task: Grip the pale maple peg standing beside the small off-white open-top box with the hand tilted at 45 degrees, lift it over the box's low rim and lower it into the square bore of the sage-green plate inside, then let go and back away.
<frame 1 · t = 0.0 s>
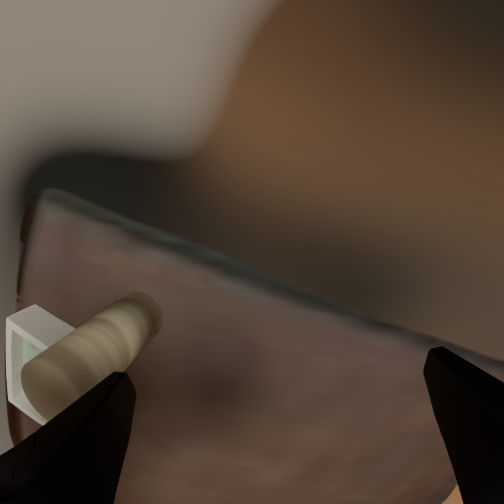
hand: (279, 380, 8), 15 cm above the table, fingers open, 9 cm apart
bore box: (69, 371, 26), on the table
peg: (139, 315, 25), on the table
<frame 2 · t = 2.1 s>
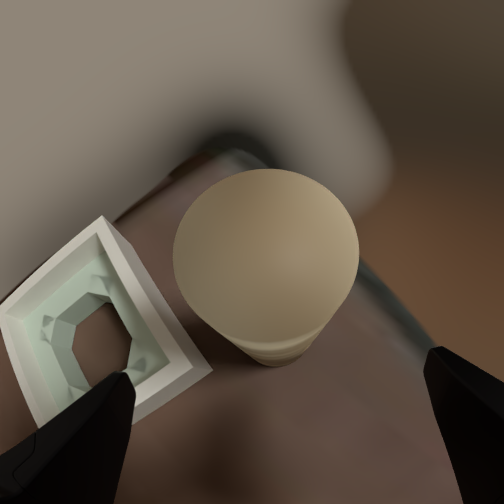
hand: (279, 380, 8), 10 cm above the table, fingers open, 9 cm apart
bore box: (107, 347, 19), on the table
peg: (276, 334, 19), on the table
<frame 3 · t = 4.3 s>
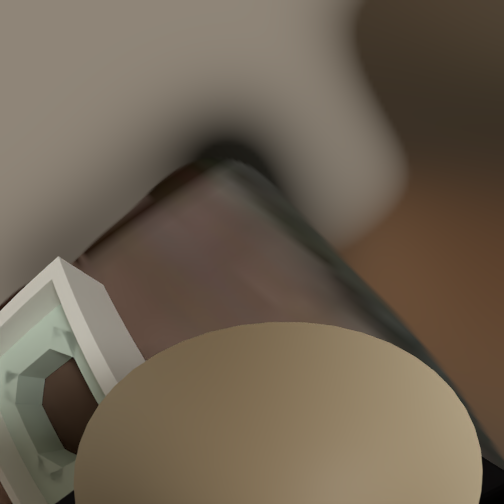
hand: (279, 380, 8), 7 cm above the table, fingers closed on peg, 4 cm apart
bore box: (80, 408, 14), on the table
peg: (282, 406, 14), on the table, touching gripper
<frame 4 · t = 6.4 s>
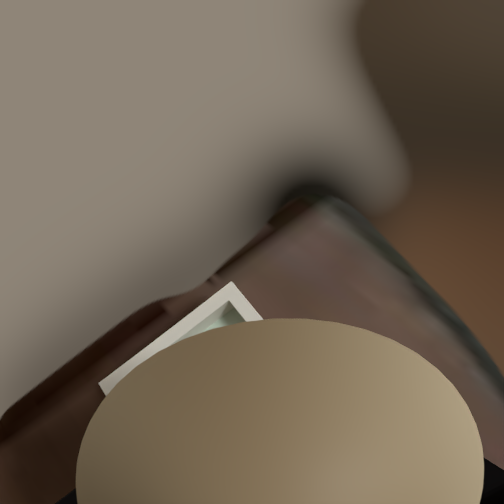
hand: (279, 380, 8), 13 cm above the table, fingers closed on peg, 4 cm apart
bore box: (228, 403, 20), on the table
peg: (283, 406, 14), point 6 cm above the table, touching gripper
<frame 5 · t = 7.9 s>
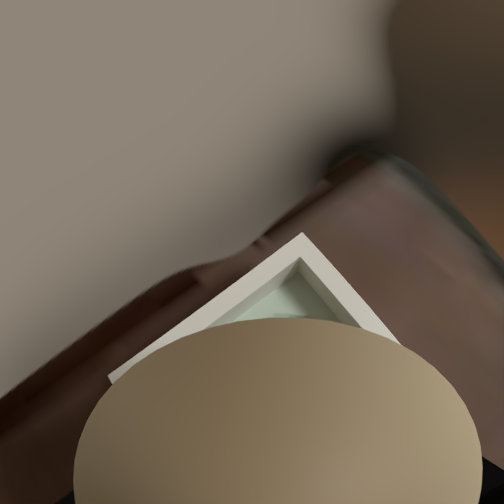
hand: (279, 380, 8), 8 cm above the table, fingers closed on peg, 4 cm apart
bore box: (281, 402, 15), on the table
peg: (282, 405, 14), point 1 cm above the table, touching gripper
when the fingers open (7 cm above the table, at t = 8.8 s): peg stays where it is, resting in bore box.
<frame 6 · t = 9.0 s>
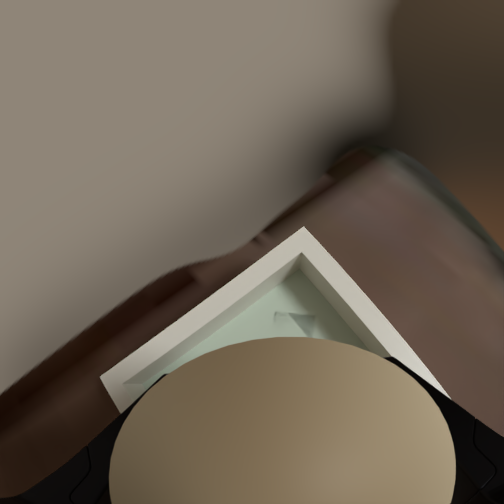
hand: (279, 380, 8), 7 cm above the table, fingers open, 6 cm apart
bore box: (282, 404, 14), on the table
peg: (283, 405, 14), resting in bore box
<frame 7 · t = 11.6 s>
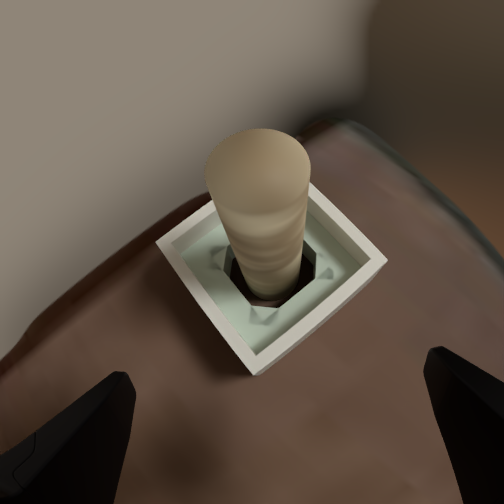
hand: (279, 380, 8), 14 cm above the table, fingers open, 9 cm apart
bore box: (271, 273, 24), on the table
peg: (272, 274, 24), resting in bore box
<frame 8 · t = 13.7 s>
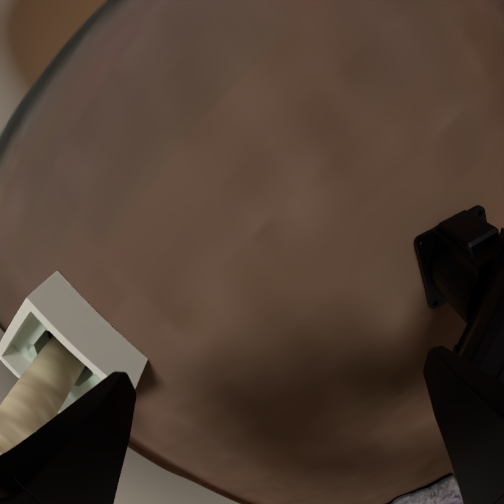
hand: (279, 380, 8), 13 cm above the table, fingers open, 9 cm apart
bore box: (74, 343, 25), on the table
geode: (415, 494, 39), on the table
peg: (74, 343, 25), resting in bore box
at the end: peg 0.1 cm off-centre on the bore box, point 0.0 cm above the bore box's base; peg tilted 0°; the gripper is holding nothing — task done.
